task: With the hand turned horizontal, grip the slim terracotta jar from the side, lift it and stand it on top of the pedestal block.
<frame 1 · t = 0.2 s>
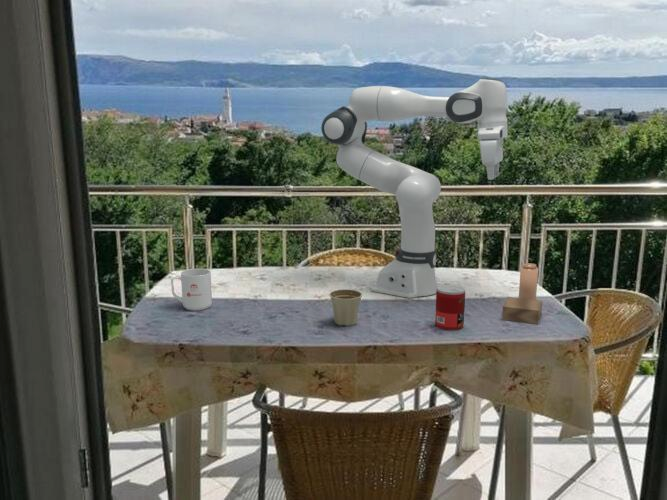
hand: (493, 178, 198), 39 cm above the table, tool pointing down, fingers open, 8 cm apart
flower pot: (345, 323, 185), on the table
canned food: (449, 326, 182), on the table
mug: (192, 307, 199), on the table
pedestal: (522, 316, 190), on the table
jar: (526, 305, 201), on the table
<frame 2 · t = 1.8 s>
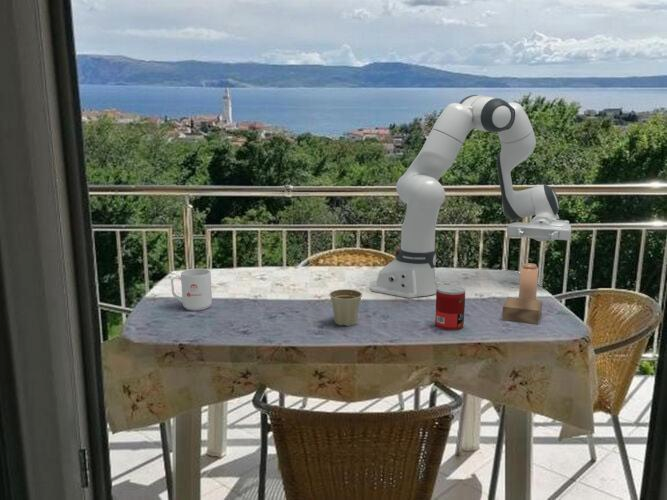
hand: (535, 235, 207), 20 cm above the table, tool horizontal, fingers open, 8 cm apart
nothing on the table moved.
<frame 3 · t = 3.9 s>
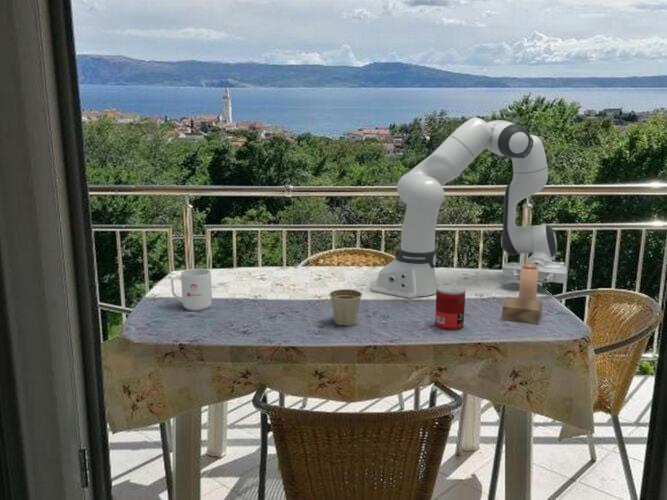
hand: (530, 278, 207), 6 cm above the table, tool horizontal, fingers open, 8 cm apart
nothing on the table moved.
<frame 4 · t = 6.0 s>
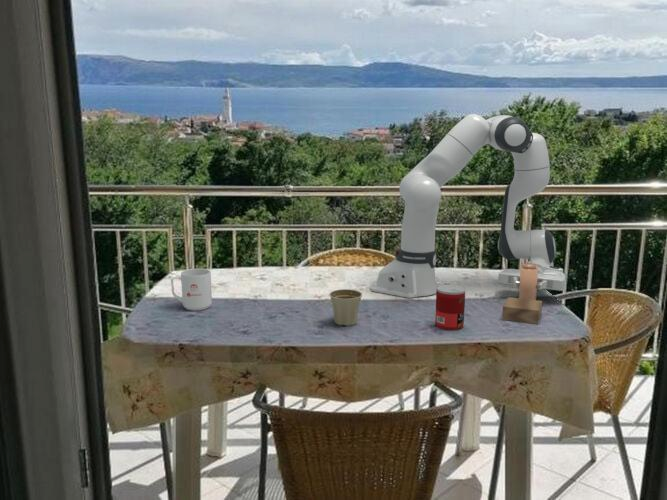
hand: (527, 285, 198), 7 cm above the table, tool horizontal, fingers closed on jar, 5 cm apart
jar: (526, 305, 201), on the table, touching gripper
everything else where it was.
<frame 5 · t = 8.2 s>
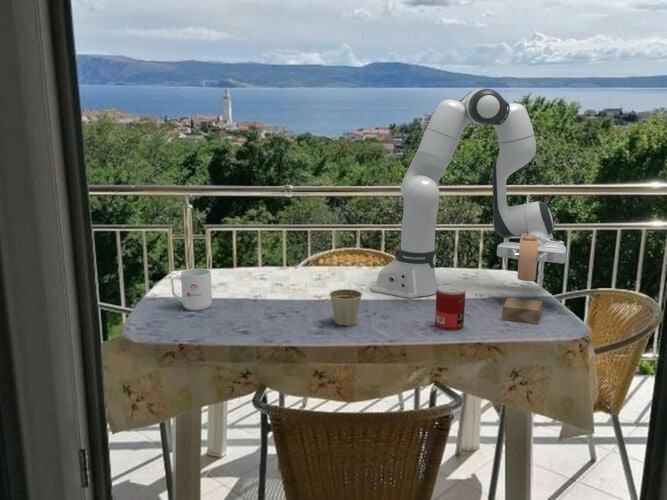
hand: (527, 257, 190), 17 cm above the table, tool horizontal, fingers closed on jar, 5 cm apart
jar: (526, 278, 193), point 10 cm above the table, touching gripper
everything else where it was.
when the fingers open (11 cm above the table, at t = 10.4 s): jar stays where it is, resting on pedestal.
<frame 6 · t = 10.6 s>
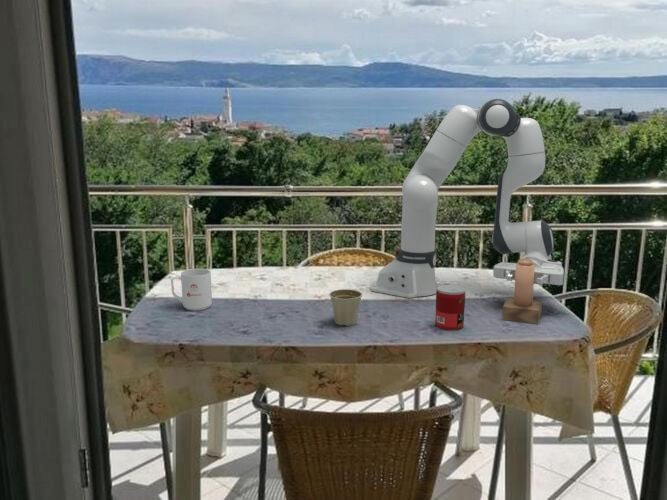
hand: (524, 279, 186), 11 cm above the table, tool horizontal, fingers open, 7 cm apart
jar: (522, 303, 189), point 4 cm above the table, touching pedestal
everything else where it was.
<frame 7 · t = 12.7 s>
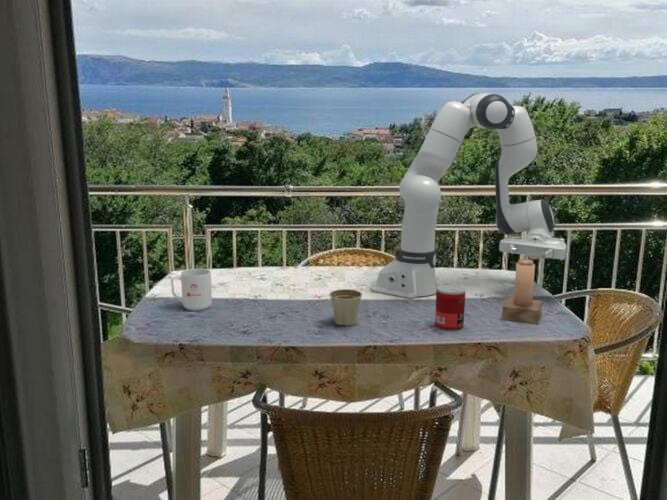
hand: (528, 253, 197), 17 cm above the table, tool horizontal, fingers open, 8 cm apart
nothing on the table moved.
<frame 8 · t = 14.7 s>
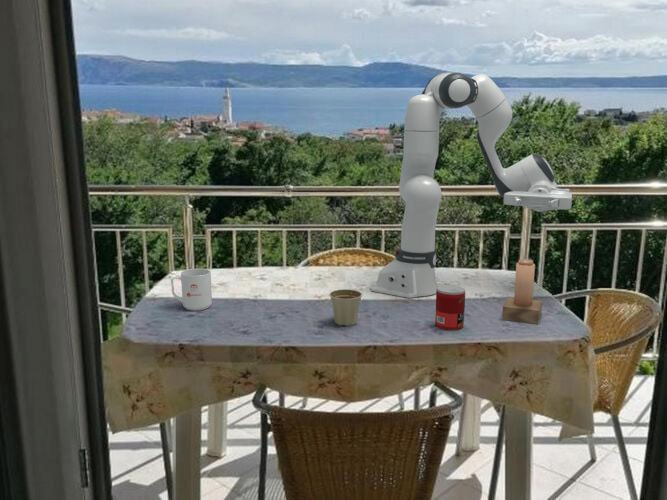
hand: (533, 203, 194), 32 cm above the table, tool horizontal, fingers open, 8 cm apart
nothing on the table moved.
at the end: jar inside the target area on the pedestal (0.0 cm from its centre), point 4.0 cm above the pedestal's base; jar tilted 0°; the gripper is holding nothing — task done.
